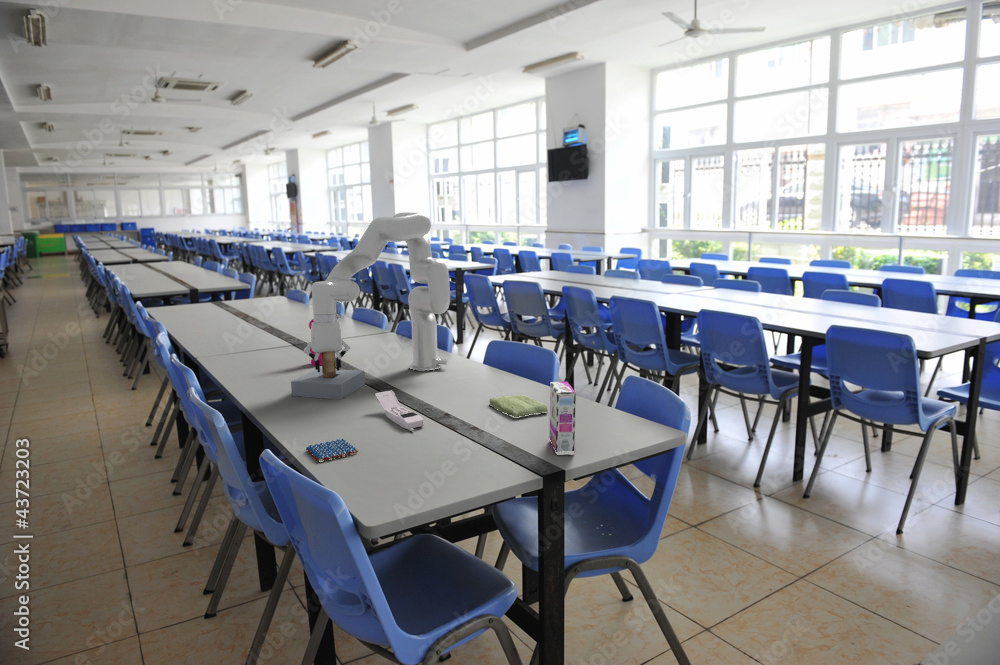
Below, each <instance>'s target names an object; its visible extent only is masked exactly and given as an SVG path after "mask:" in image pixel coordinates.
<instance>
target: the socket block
mask: <svg viewBox="0 0 1000 665" xmlns="http://www.w3.org/2000/svg"><path fill="white" fill-rule="evenodd" d="M290 385H291V386H290V387H291V396H292V397H299V396H301V397H302V398H317V399H319V398H320V399H333V400H334V399H336V400H343V399H345V398H346V397H347V396H349V395H351V394H352V393H354V392H356V391H357V390H359V389H361V388H362V387H363V386H365V385H366V378H365V370H355V369H354V370H353V369H339V371H337V368H336V377H335V378H333V379H331V378H323V374H322V368H320V372H318V370H315V369H313V370H311V371H310V372H307V373H305V374H303V375H301V376H299V377H297V378H295V379H293V380H291V381H290Z"/></svg>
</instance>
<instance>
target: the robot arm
mask: <svg viewBox="0 0 1000 665" xmlns="http://www.w3.org/2000/svg"><path fill="white" fill-rule="evenodd" d="M431 227H432V223H431V219H430V217H429V216H428V215H427V214H426V213H423V212H409V211H407V212H405V211H404V212H398V213H396V214H394V215H393V216H391V217H389V216H388V217H387V216H382V217H381V216H379V217H376V218H373V220H372V221H370V223H369V225H368V227H367V228H366V229H365V231H364V233H363V235H362V236H361V237H360V239H359V241H358V242H357V243H356V246H355V247H354V248H353V250H351V251H350V252H348V254H346V255H345V256H344V257H343V258H342V259H341V260H340V261H339V262H338V263H336V264H335V266H334V267H333V268H332V270H331V271H330V272H329V274H328V276H327V278H326V279H325V280H322V281H315V282H312V285H311V298H312V315H313V316H312V317H313V319H314V322H312V324H311V329H310V342H309V343H308V345H306V347H305V348H304V349H303V353H304V354H306V355H308V356H309V357H310V358H311V360H312V359H313V360H314V361H315V366H314V367H315V368H314V370H318V372H320V369H321V366H320V364H319V359H318V357H319V354H320V353H321V352H326V351H332V352H335V356H336V357H335V366H336V369H337V371H339V370H340V369H341V368H342V358H343V357H344V356H345V354H346V353H348V352H349V350H350V349H351V346H350V345H349V344H348V343H346V342H345V341H344V340H343V336H342V335H343V334H342V329H341V323H340V320H339V319H342V315H341V313H338V312H337V302H338V303H339V302H343V303H350V302H353V301H355V300H356V299H357V298H359V296H360V293H361V289H360V286H359V284H358V283H357V282H356V281H354V280H352V279H351V278H352V277H354V275H355V274H357V273H358V272H361V271H362V270H364V269H366V268H369V267H371V266H373V265H374V264H376V262H377V260H378V259H379V257H380V256H381V254H382V252H383V250H384V249H385V248H386V245H387V244H388V242H390V243H391V242H392V243H399V242H405V243H406V246H407V249H408V251H407V252H408V262H409V275H410V278H411V279H412V281H414V282H416V283H419V284H425V285H427V286H425V285H424V286H423V285H421V286H419V285H418V286H416V287H414V288H412V289H411V290H410V292H409V294H408V296H407V298H408V300H407V302H408V307H409V312H410V319H411V342H412V343H411V346H412V363H410V364H409V365H408V369H409V368H411V369H414V370H430V369H435V368H439V367H441V366H442V367H443V365H444V366H446V365H447V366H448V364H449V360H448V359H447V358H441V357H440V355H439V354H438V331H437V330H438V329H437V328H438V327H437V326H438V325H437V318H436V315H441V314H444V313H445V312H447V310H448V309H449V307H450V304H451V289H450V287H451V286H450V273H449V269H448V266H447V265H446V263H445V262H444V261H443V260H441V259H438V258H433V254H432V248H431V247H432V245H431V241H430V238H429V236H428V233H430V231H431ZM343 347H344V348H343ZM310 348H312V351H313V352H315V355H314V354H313V353H312V352H310ZM442 367H441V368H442ZM411 369H410V370H411ZM414 370H413V371H414Z"/></svg>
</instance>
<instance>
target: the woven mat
mask: <svg viewBox="0 0 1000 665" xmlns="http://www.w3.org/2000/svg"><path fill="white" fill-rule="evenodd" d="M305 450H306V452H307V453H309V454H310V455H312V454H313V455H312V456H311V457H312V458H314V459H315V460H317V462H318V461H319V460H320V461H323V460H327V461H328V459H330V460H331V461H332V460H333V458H336V459H337V457H339V458H343V457H344V458H345V457H349V456H351V455H353V456H354V455H355V454H356V455H357V453H359V451H358V449H356V447H354V446H353V445H351V444H350V443H349V442H348V441H346V440H344V438H341V439H336V440H330V441H325V442H319V443H318V444H317V443H316V444H310V445H308V446H307V447H305ZM344 454H345V455H344ZM349 454H350V455H349ZM330 460H329V461H330ZM323 462H324V461H323Z"/></svg>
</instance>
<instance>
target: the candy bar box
mask: <svg viewBox="0 0 1000 665" xmlns="http://www.w3.org/2000/svg"><path fill="white" fill-rule="evenodd" d="M549 384H550V387H549V388H550V390H549V438H550V440H551V442H552V445H553V447H554V448H555V450H556V452H560V451H561V452H562V451H574V452H575V438H576V436H575V435H576V434H575V431H576V430H575V429H576V399H577V398H576V396H577V395H576V394H577V393H576V391H575V389H573V387H572V386H571V384H570V383H569V381H550V383H549ZM552 445H551V446H552ZM553 447H552V448H553Z"/></svg>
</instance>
